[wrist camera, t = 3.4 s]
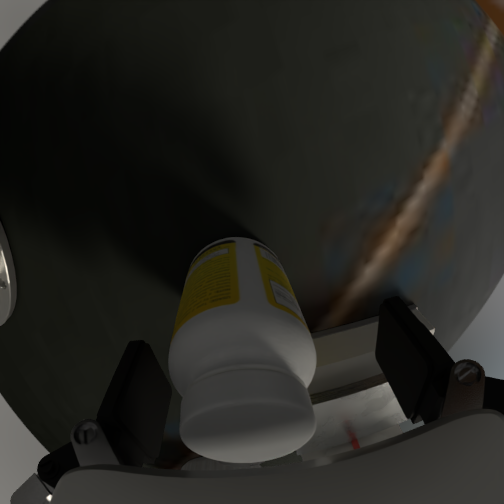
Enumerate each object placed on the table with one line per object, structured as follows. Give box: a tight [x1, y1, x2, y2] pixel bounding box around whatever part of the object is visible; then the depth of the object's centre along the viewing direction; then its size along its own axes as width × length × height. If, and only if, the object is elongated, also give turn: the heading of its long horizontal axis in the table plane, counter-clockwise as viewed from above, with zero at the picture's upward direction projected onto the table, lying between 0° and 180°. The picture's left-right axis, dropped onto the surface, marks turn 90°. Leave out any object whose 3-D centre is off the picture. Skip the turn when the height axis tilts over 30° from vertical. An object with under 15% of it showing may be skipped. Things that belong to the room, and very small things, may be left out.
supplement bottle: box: [168, 237, 317, 463], centre depth 11 cm, size 5×5×10 cm
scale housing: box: [301, 304, 435, 461], centre depth 15 cm, size 10×12×10 cm
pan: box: [296, 373, 408, 455], centre depth 15 cm, size 7×9×2 cm
